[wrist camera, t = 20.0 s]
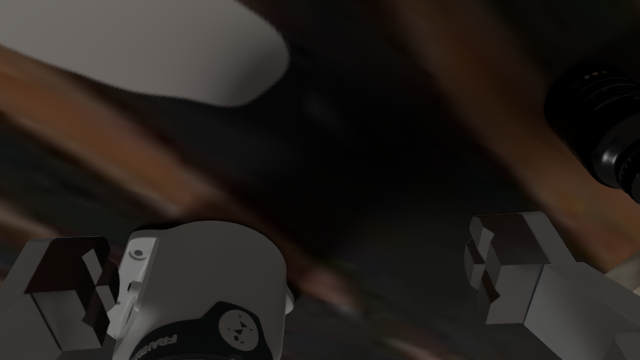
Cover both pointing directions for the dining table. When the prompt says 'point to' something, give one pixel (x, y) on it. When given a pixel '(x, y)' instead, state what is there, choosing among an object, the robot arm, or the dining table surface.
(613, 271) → the ash platform
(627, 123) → the supplement bottle
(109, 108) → the dining table surface
